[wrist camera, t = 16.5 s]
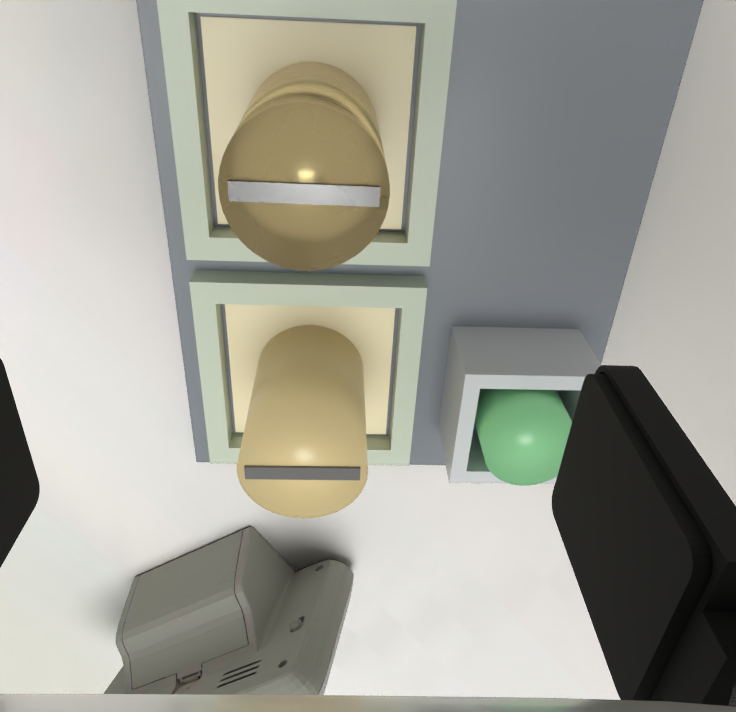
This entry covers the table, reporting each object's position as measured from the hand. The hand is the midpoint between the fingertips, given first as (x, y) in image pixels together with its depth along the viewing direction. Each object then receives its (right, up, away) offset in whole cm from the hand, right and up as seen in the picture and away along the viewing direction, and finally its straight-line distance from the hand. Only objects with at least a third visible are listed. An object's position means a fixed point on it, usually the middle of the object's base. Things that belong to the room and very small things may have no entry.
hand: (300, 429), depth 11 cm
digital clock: (-8, -14, +31) cm, 34 cm away
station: (+3, +6, +18) cm, 19 cm away
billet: (-1, +10, +14) cm, 17 cm away
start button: (+8, 0, +20) cm, 22 cm away
